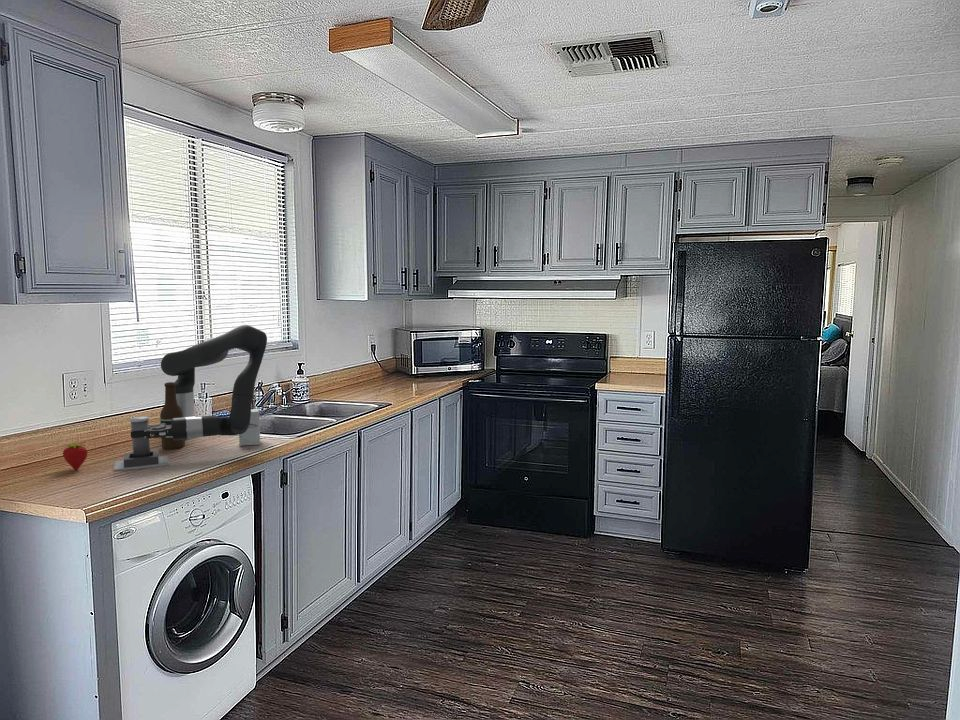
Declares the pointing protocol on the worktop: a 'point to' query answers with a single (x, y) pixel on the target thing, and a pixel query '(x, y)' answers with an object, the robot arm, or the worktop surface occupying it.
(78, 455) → the strawberry
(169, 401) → the beer bottle
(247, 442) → the supplement box
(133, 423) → the gray flanged cylinder
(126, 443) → the worktop surface
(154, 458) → the grey recessed tray
